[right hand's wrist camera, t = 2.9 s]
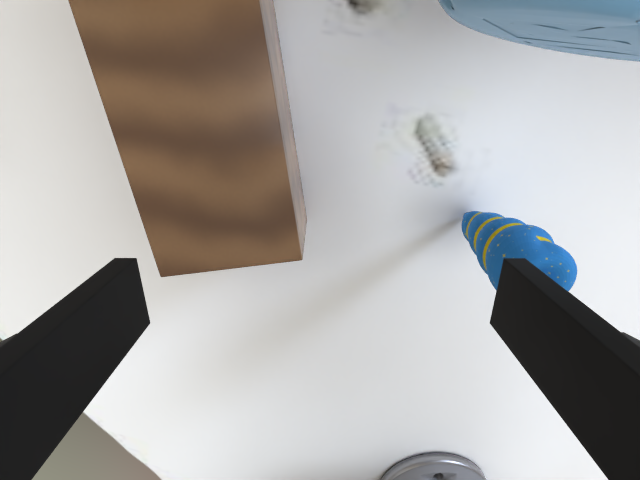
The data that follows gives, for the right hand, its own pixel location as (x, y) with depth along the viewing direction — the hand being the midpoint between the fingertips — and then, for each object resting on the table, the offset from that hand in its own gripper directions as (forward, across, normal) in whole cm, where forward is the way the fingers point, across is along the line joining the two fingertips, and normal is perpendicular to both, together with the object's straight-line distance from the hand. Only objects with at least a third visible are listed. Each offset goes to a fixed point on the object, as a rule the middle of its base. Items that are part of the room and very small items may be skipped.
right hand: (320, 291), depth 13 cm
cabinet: (+22, +8, -4) cm, 24 cm away
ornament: (+22, -14, +4) cm, 27 cm away
